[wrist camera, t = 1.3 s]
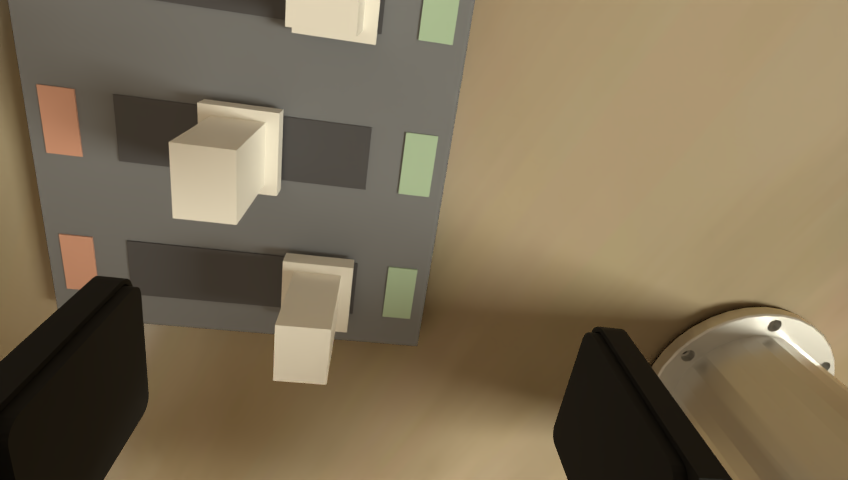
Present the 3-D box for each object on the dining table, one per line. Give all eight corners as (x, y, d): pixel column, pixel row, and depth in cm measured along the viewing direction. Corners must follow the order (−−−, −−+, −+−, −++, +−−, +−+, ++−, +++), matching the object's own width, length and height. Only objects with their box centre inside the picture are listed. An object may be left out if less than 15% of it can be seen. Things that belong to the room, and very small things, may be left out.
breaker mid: (280, 189, 26) (252, 238, 21) (206, 181, 26) (157, 228, 20) (283, 109, 25) (253, 139, 19) (204, 99, 24) (150, 126, 19)
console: (416, 331, 32) (417, 347, 31) (73, 302, 30) (57, 317, 29) (482, -74, 24) (488, -79, 22) (6, -159, 21) (-22, -171, 20)
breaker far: (348, 322, 30) (338, 394, 24) (283, 316, 29) (259, 388, 24) (354, 259, 28) (345, 321, 23) (286, 253, 28) (260, 313, 22)
